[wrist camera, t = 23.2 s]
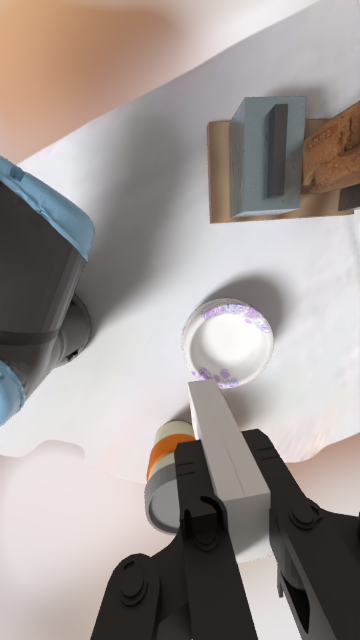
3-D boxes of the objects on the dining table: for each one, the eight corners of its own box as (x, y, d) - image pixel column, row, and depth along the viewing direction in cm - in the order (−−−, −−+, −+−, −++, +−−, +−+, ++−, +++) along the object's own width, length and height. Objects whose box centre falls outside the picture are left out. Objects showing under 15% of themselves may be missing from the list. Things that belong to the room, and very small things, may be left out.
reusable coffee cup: (162, 470, 55) (165, 547, 40) (136, 429, 51) (129, 498, 37) (213, 446, 54) (234, 516, 40) (190, 403, 51) (204, 463, 37)
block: (341, 140, 39) (524, 33, 20) (340, 192, 41) (504, 140, 22) (276, 151, 38) (398, 51, 19) (278, 202, 40) (391, 158, 21)
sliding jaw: (229, 218, 40) (248, 209, 32) (228, 124, 36) (249, 89, 28) (276, 215, 41) (306, 206, 33) (280, 122, 37) (314, 88, 29)
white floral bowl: (182, 373, 49) (188, 395, 41) (175, 299, 45) (180, 308, 37) (256, 364, 50) (274, 384, 42) (256, 290, 46) (276, 298, 38)
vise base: (209, 223, 42) (223, 216, 34) (206, 127, 38) (221, 92, 30) (347, 215, 44) (391, 206, 36) (357, 122, 40) (409, 89, 32)
